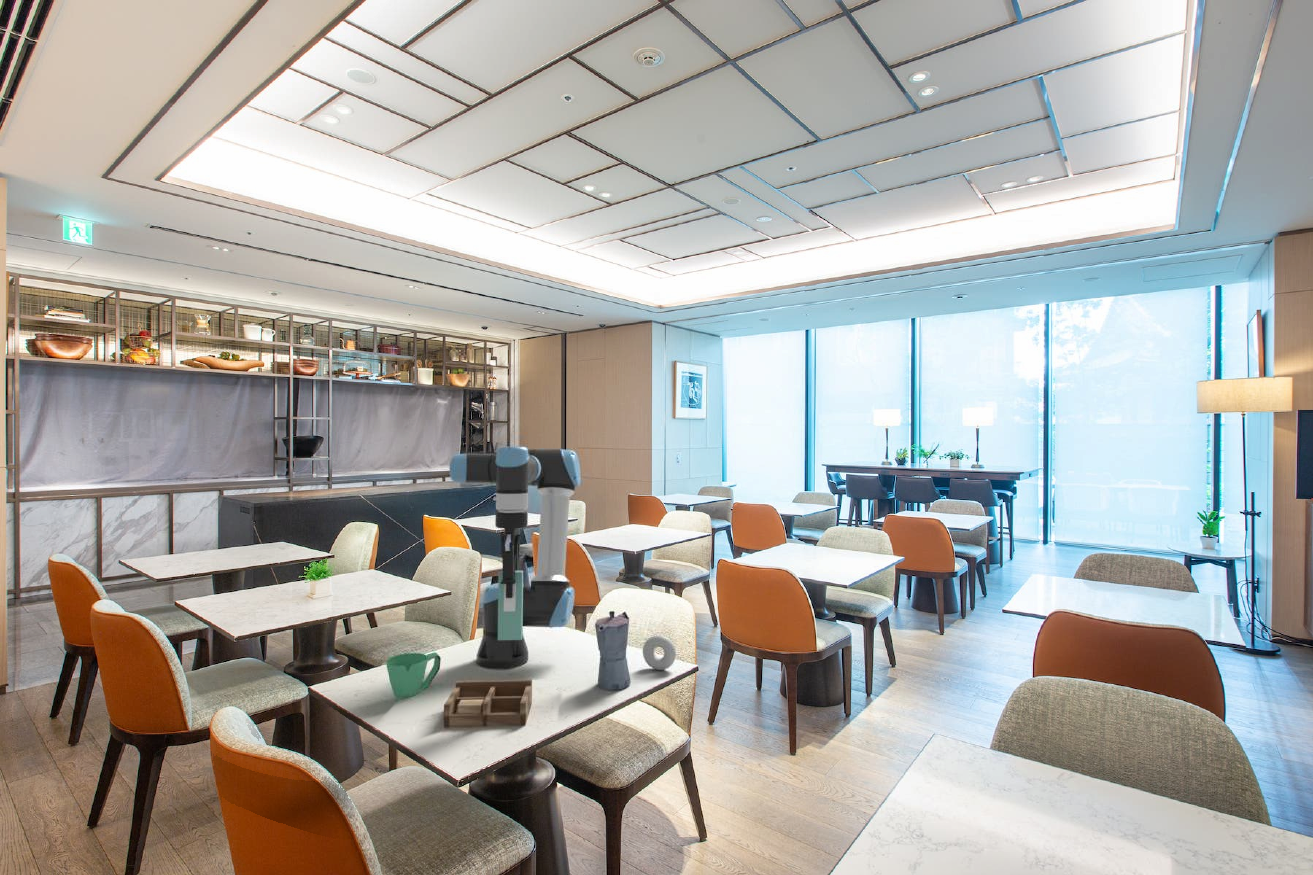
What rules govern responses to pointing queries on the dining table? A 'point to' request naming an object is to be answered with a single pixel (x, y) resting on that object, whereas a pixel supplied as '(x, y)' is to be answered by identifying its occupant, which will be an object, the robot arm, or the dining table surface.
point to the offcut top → (470, 706)
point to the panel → (511, 620)
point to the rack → (490, 703)
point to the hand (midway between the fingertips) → (510, 609)
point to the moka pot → (613, 651)
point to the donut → (651, 657)
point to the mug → (411, 673)
